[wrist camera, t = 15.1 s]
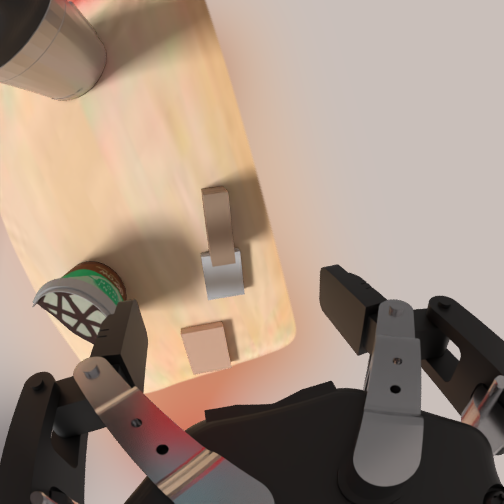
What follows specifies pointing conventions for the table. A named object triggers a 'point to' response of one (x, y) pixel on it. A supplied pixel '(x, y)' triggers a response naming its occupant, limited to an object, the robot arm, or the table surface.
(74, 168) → the table surface
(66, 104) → the table surface
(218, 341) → the tile
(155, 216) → the table surface
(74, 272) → the food container
